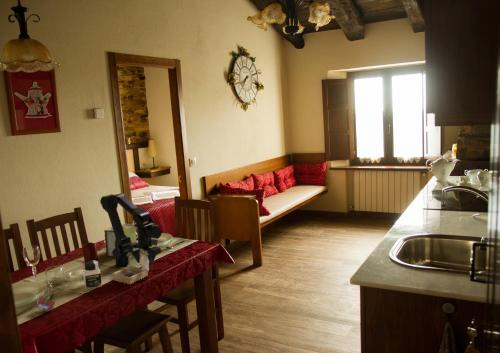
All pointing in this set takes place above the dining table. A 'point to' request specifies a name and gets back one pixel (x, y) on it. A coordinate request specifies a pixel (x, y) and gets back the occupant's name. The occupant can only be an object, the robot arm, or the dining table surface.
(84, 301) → the dining table surface
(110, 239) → the protein box
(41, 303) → the geometric puzzle
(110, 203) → the robot arm
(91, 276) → the medicine bottle
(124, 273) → the crate
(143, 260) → the peg
